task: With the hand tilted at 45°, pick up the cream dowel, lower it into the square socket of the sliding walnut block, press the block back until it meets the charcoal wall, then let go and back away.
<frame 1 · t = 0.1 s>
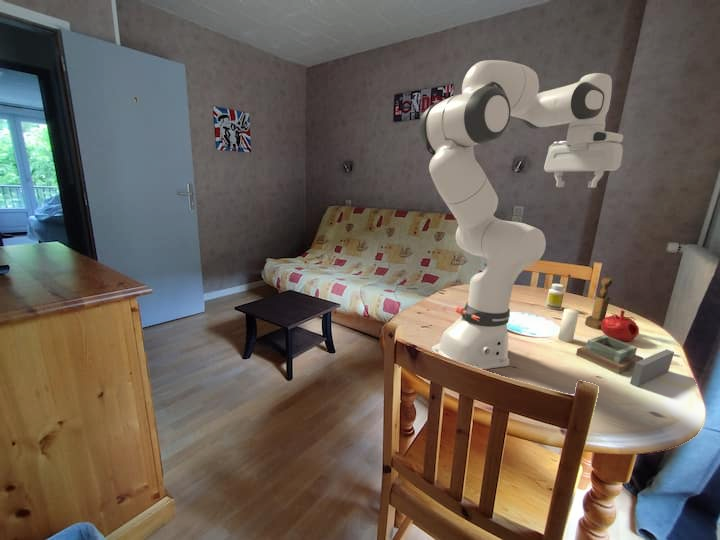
hand: (575, 187, 96), 48 cm above the table, tool pointing down, fingers open, 8 cm apart
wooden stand: (596, 326, 115), on the table
socket block: (610, 351, 92), point 2 cm above the table, slide at 0.0 cm
backstop wall: (649, 377, 84), on the table
supplement bottle: (553, 307, 132), on the table
dowel: (565, 339, 104), on the table
pomegranate: (616, 337, 107), on the table
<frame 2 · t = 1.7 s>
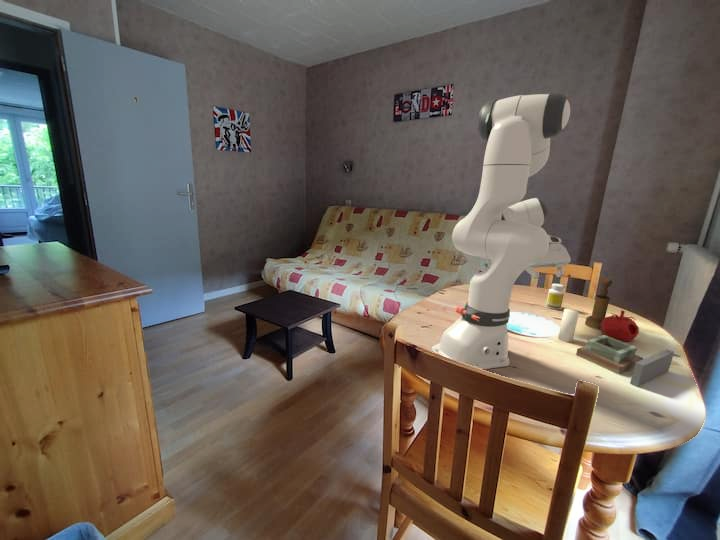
hand: (548, 277, 111), 18 cm above the table, tool tilted 45°, fingers open, 8 cm apart
nothing on the table moved.
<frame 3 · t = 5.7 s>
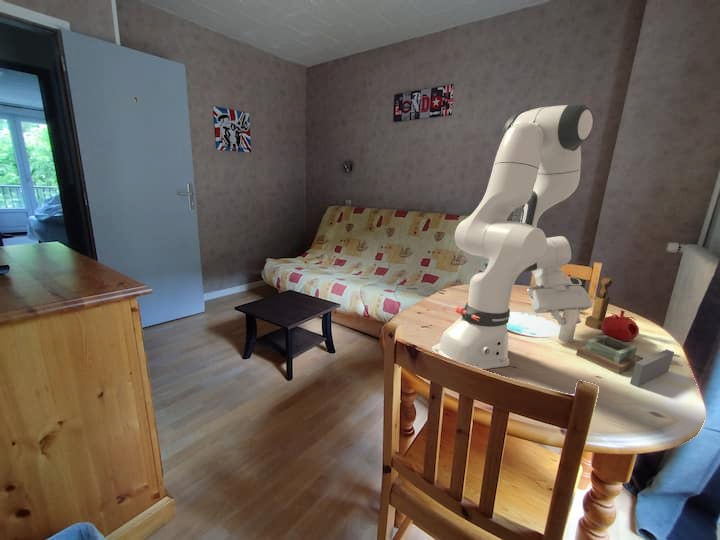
hand: (570, 323, 102), 6 cm above the table, tool tilted 45°, fingers closed on dowel, 4 cm apart
dowel: (565, 339, 104), on the table, touching gripper
everything else where it was.
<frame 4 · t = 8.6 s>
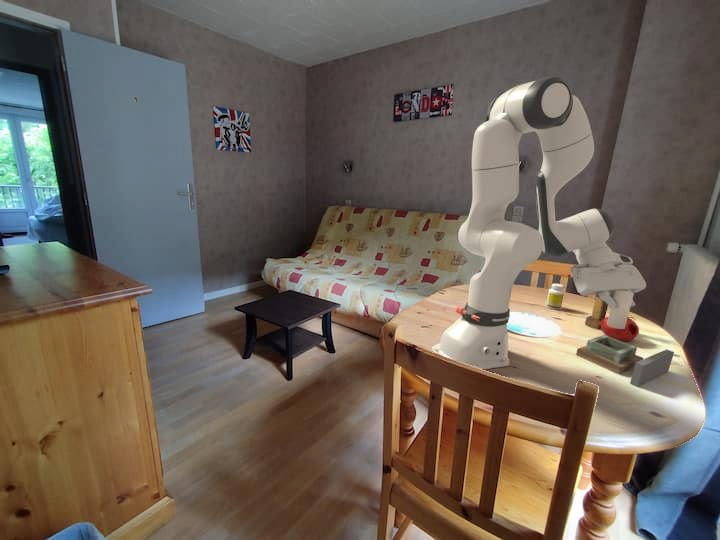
hand: (623, 307, 88), 16 cm above the table, tool tilted 45°, fingers closed on dowel, 4 cm apart
dowel: (615, 325, 90), point 10 cm above the table, touching gripper
everything else where it was.
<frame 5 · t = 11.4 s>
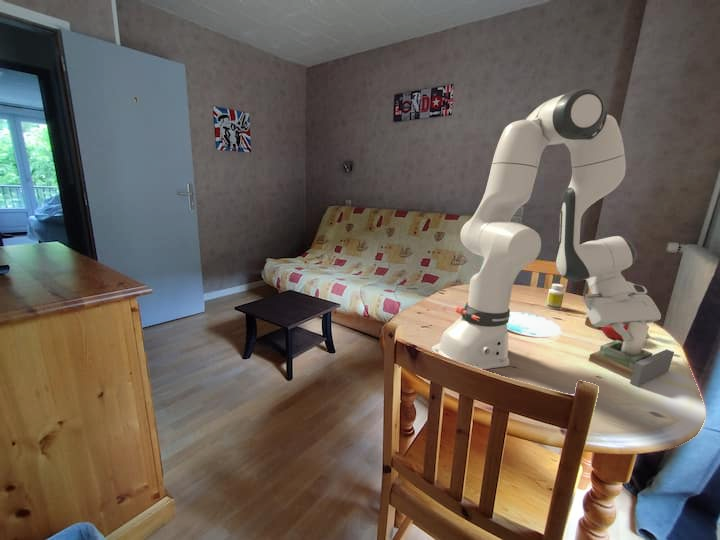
hand: (637, 339, 85), 9 cm above the table, tool tilted 45°, fingers closed on dowel, 4 cm apart
socket block: (624, 357, 89), point 2 cm above the table, slide at 3.5 cm, touching backstop wall, dowel
dowel: (628, 357, 88), point 3 cm above the table, touching gripper, socket block
everything else where it was.
when the fingers open (9 cm above the table, at t = 11.5 s): dowel stays where it is, resting on socket block.
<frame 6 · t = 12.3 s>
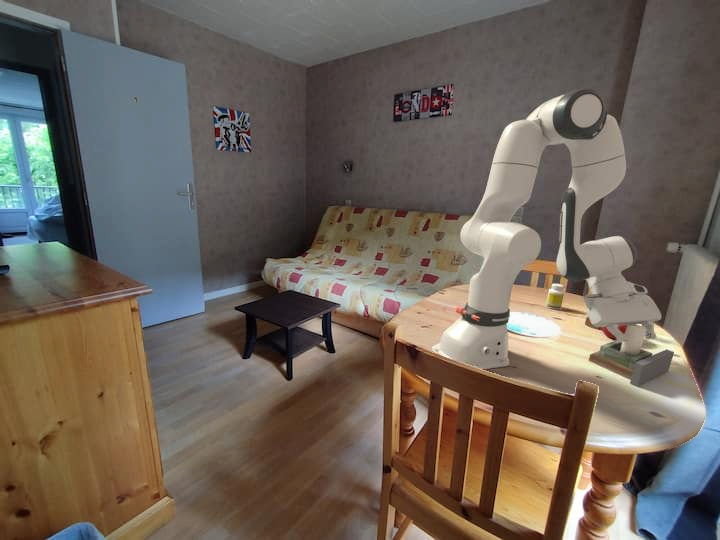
hand: (638, 339, 85), 9 cm above the table, tool tilted 45°, fingers open, 8 cm apart
socket block: (624, 357, 89), point 2 cm above the table, slide at 3.5 cm, touching dowel
dowel: (627, 360, 88), point 2 cm above the table, touching socket block
everything else where it was.
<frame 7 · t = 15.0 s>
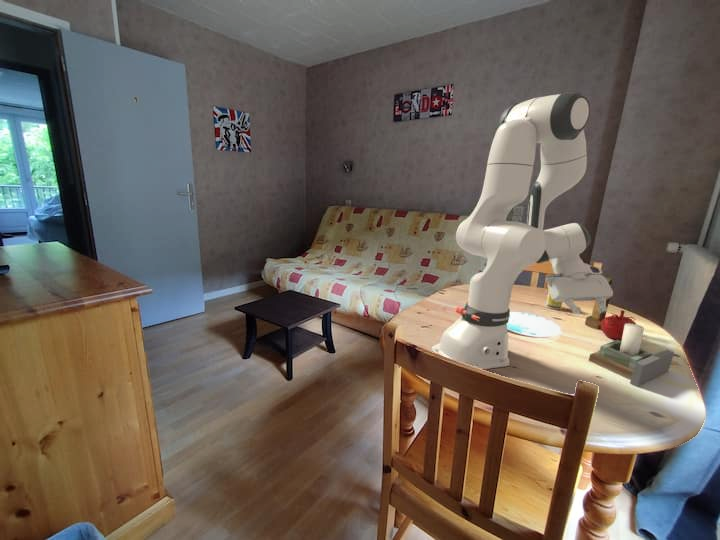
hand: (591, 312, 98), 11 cm above the table, tool tilted 45°, fingers open, 8 cm apart
nothing on the table moved.
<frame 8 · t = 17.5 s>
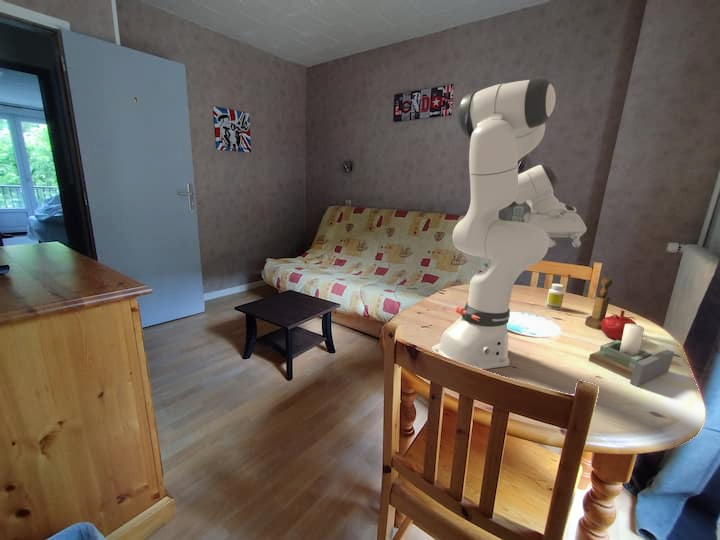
hand: (565, 246, 104), 29 cm above the table, tool tilted 45°, fingers open, 8 cm apart
nothing on the table moved.
at the end: dowel 0.8 cm off-centre on the socket block, point 2.1 cm above the socket block's base; socket block slide at 3.5 cm; dowel tilted 3° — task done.
